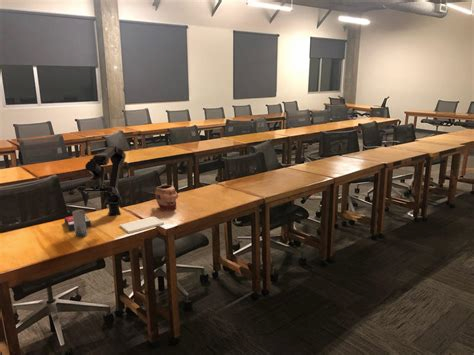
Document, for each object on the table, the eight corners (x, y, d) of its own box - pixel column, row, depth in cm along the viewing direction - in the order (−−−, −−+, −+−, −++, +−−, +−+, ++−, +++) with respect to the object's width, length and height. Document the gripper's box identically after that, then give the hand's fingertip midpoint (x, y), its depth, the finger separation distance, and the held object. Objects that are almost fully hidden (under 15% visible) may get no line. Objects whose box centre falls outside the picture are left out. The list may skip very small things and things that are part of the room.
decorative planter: (147, 207, 234) (145, 185, 230) (163, 202, 243) (161, 181, 240) (169, 214, 222) (167, 191, 218) (184, 208, 231) (183, 186, 227)
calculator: (84, 213, 216) (90, 219, 203) (85, 220, 217) (91, 227, 204) (63, 216, 210) (68, 224, 198) (64, 224, 211) (69, 231, 199)
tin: (75, 234, 195) (72, 210, 191) (87, 232, 196) (84, 209, 193) (75, 238, 190) (72, 214, 186) (87, 236, 192) (84, 212, 188)
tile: (128, 233, 195) (128, 231, 195) (119, 226, 204) (119, 224, 204) (164, 224, 207) (163, 222, 207) (154, 217, 216) (154, 216, 216)
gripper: (73, 172, 194) (69, 202, 189) (109, 172, 193) (105, 202, 188) (83, 179, 205) (79, 207, 200) (117, 179, 203) (114, 207, 199)
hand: (94, 206), depth 196 cm, fingers open, 9 cm apart
